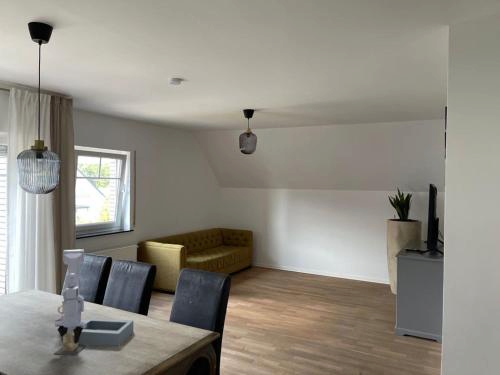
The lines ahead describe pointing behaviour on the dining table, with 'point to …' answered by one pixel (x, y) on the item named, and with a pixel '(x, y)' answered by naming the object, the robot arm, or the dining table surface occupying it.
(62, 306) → the teacup with lid
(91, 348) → the dining table surface
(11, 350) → the dining table surface
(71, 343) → the birch post
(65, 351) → the mat
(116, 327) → the box
